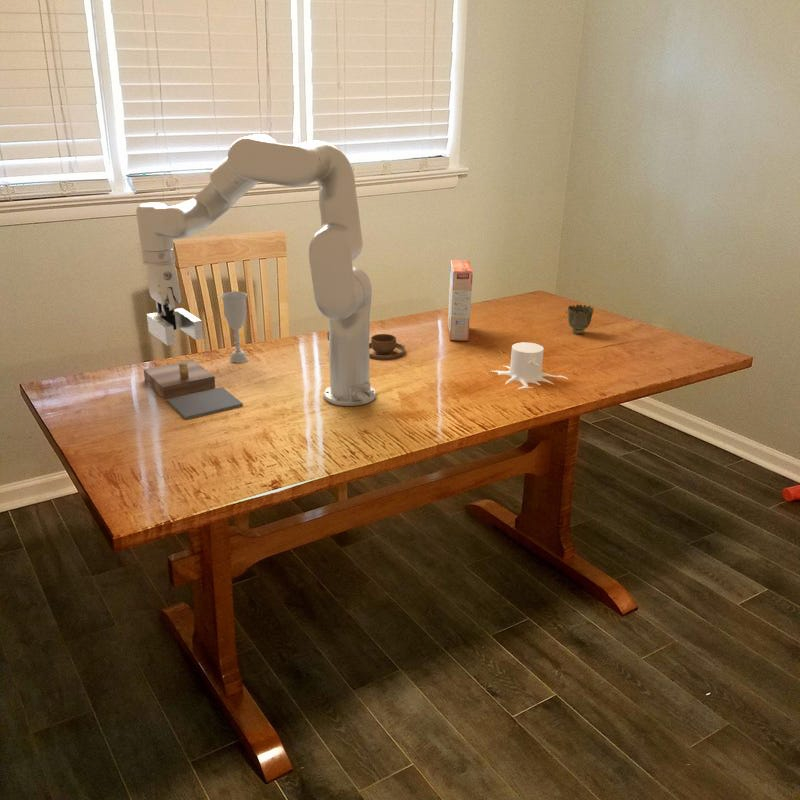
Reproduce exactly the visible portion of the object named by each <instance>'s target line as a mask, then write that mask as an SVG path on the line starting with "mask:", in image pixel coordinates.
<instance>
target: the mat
mask: <svg viewBox="0 0 800 800" xmlns="http://www.w3.org/2000/svg"><path fill="white" fill-rule="evenodd" d="M166 402H167V403H168V404H169V405H170V406H171V407H172V408H174V409H173V410H175V411H176V412H177V413H178V414H179V415H180V416H182V417H183V419H185V420H189V419H192V418H197V417H201V416H202V417H203V416H205V415H209V414H213V413H218V412H223V411H227V410H230V409H235V408H239V406H240V407H243V406H244V403H243V402H241V401H240V400H239V398H237V397H235V396H234V395H233V394H232V393H231V392H230V391H228V390H227V389H226V388H224V387H223V386H222V387H221V386H220V387H215V388H211V389H206V390H202V391H197V392H193V393H188V394H184V395H179V396H175V397H170V398H166ZM242 405H243V406H242ZM222 410H223V411H222Z"/></svg>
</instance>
